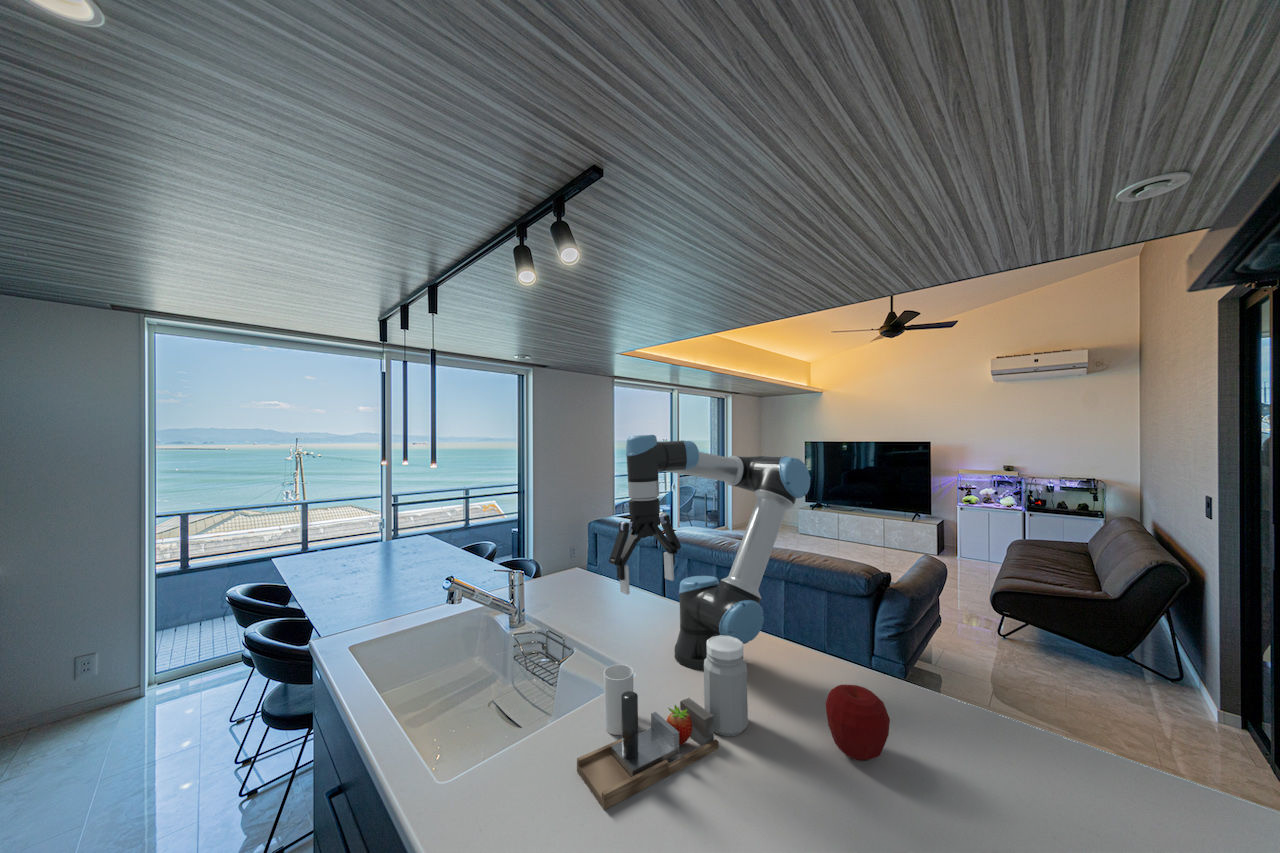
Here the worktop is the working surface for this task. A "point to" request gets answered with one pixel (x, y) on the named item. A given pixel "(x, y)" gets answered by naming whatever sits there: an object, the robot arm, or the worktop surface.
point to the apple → (857, 721)
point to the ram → (643, 739)
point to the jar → (726, 685)
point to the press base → (618, 784)
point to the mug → (616, 695)
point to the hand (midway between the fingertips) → (648, 585)
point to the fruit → (681, 723)
